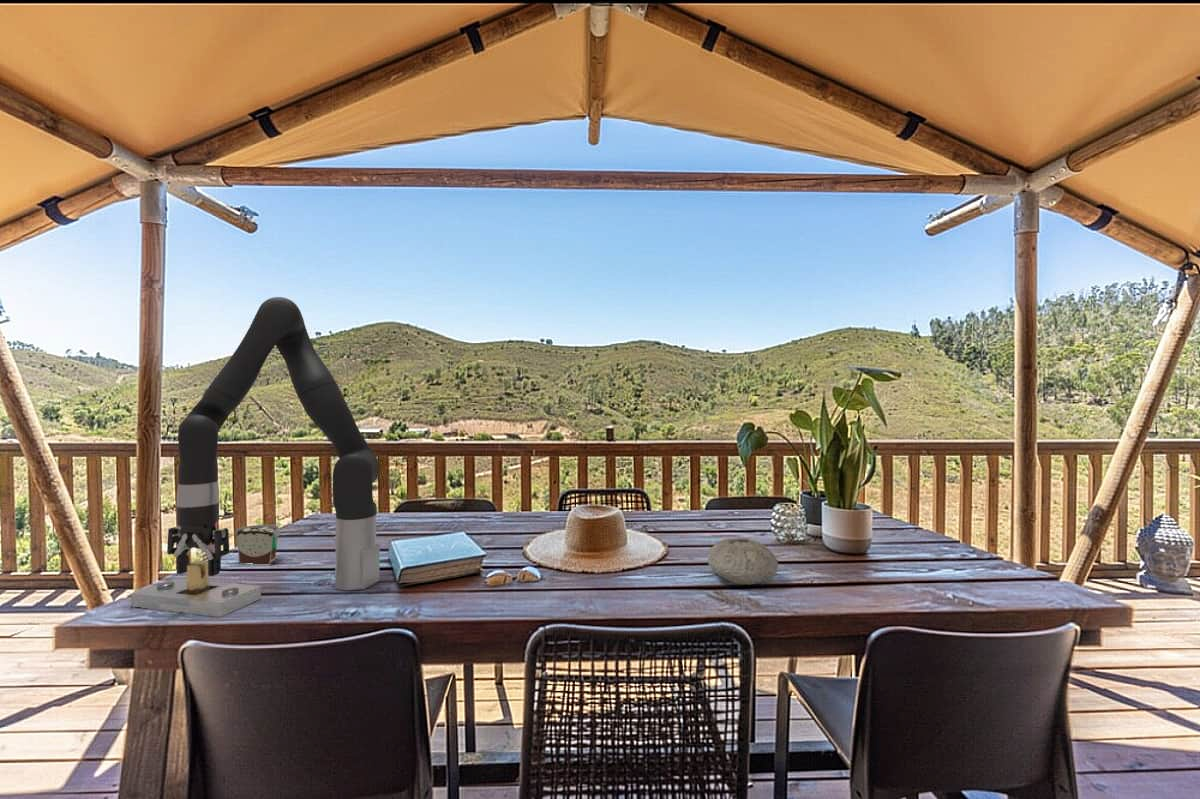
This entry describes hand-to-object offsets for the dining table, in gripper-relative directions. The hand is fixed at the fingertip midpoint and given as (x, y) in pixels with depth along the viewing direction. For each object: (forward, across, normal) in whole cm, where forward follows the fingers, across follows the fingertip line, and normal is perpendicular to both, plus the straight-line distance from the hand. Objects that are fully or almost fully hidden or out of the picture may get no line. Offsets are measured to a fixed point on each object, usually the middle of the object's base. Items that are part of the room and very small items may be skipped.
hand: (198, 573), depth 113 cm
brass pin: (+7, 0, 0) cm, 7 cm away
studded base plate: (+7, 0, 0) cm, 7 cm away
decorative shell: (+8, -123, -42) cm, 130 cm away
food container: (+7, +11, -28) cm, 31 cm away
